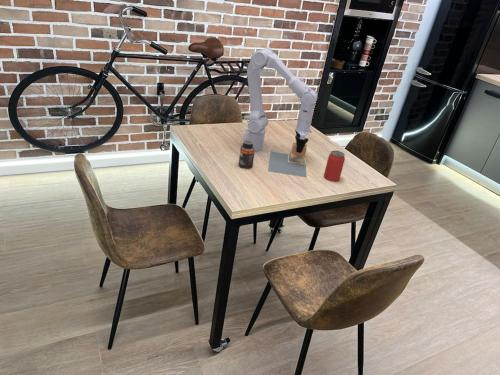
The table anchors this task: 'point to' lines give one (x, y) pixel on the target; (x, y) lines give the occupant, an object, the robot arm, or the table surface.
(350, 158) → the table surface
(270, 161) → the board
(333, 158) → the beer can
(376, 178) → the table surface
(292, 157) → the base block
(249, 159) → the supplement bottle
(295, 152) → the terracotta block
